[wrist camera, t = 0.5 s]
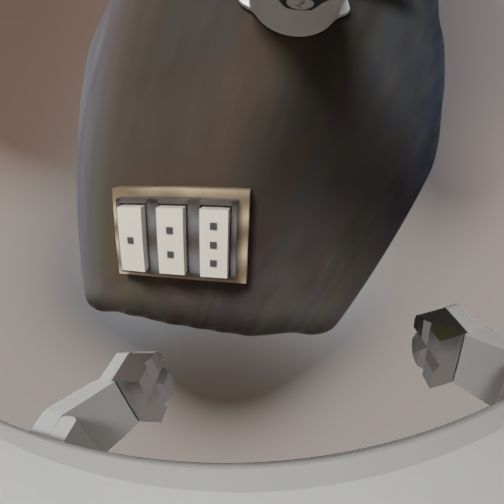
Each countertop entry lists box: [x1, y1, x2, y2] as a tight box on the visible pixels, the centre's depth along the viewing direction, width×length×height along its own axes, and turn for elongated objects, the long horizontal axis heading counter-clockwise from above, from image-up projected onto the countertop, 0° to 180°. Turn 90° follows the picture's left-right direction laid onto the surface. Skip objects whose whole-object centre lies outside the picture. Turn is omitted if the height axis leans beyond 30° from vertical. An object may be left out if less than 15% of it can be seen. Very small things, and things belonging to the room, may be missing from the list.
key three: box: [199, 207, 230, 279], centre depth 48 cm, size 11×4×2 cm, turn 177°
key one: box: [117, 205, 149, 272], centre depth 48 cm, size 11×4×2 cm, turn 177°
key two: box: [156, 205, 188, 275], centre depth 48 cm, size 11×4×2 cm, turn 177°
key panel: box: [112, 186, 251, 284], centre depth 51 cm, size 16×24×4 cm, turn 88°
